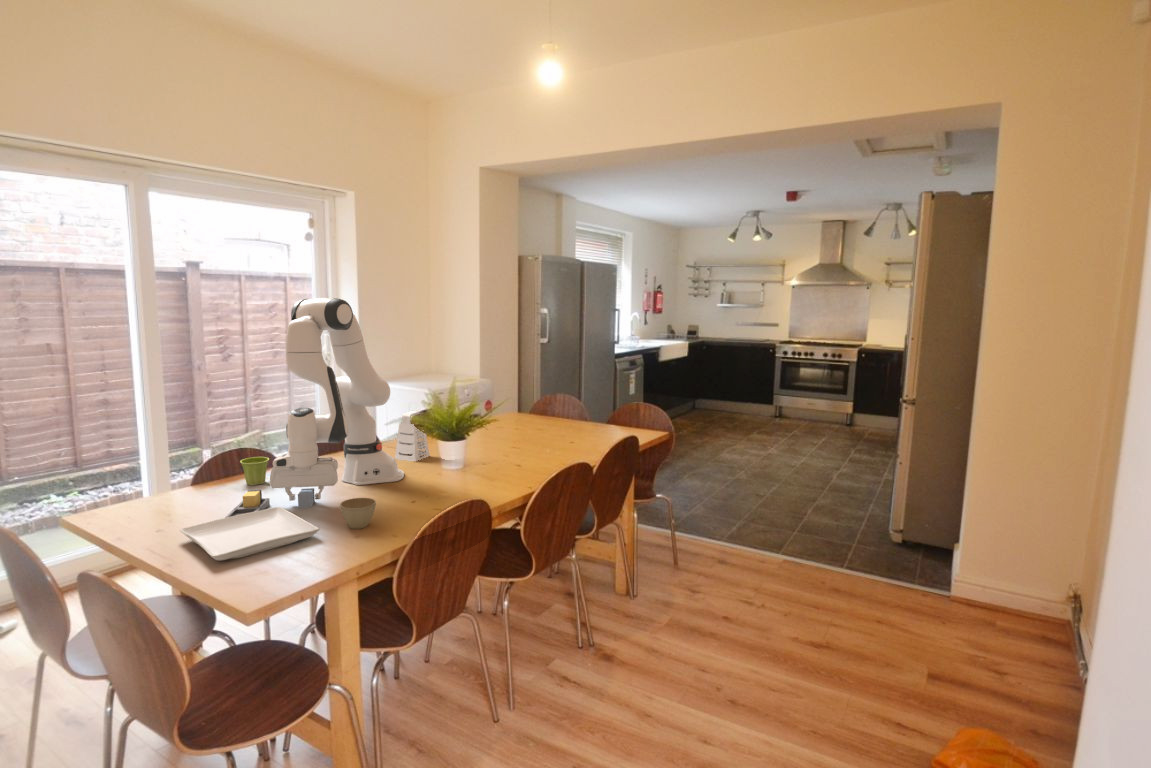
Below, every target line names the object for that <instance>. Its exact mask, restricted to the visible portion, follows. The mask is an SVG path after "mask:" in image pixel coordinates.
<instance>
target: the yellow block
mask: <svg viewBox="0 0 1151 768" xmlns="http://www.w3.org/2000/svg"><path fill="white" fill-rule="evenodd" d="M262 495H263V493H262V489H249V490H247V491H246V492H245V493H244V494H243V496H242V501H243V507H254V506H260V505H261V504H262V499H263V497H262Z"/></svg>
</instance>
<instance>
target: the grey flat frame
mask: <svg viewBox="0 0 1151 768" xmlns="http://www.w3.org/2000/svg"><path fill="white" fill-rule="evenodd" d="M269 506H270V498H269V497H268V498H267V497H265V498H263V497H262V504H261V505H260V506H254V507H243V500H241V501H240V502H239V504H237V505H236V506H235V507H234V508H233V509H232V510H231V511H230V512H229V513H227V515H226V516H225V517H224V518H227V517H231V516H236V515H240V514H245V513H250V512H255V511H260V510H265V509H268V508H269Z"/></svg>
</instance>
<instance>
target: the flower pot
mask: <svg viewBox="0 0 1151 768" xmlns="http://www.w3.org/2000/svg"><path fill="white" fill-rule="evenodd" d="M376 505H377V502H376V499H373V498H371V497H353V498H348V499H345V500H343V501H341V502H340V503H339V507H340V511H341V514H342V517H343V520H344V521H345V523H346V524H347V526H348V527H349V528H350V529H353V530H354V529H355V530H358V529H363V528H366V527H367V526H368V525H369V524H370V522H371V520H372V518H373V516H374V513H375V509H376Z"/></svg>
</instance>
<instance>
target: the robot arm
mask: <svg viewBox="0 0 1151 768" xmlns="http://www.w3.org/2000/svg"><path fill="white" fill-rule="evenodd" d="M290 316H291V318H290V319H291V321H290V322H289V324H288V325H287V330H286V336H285V337H286V338H285V359H286V360H285V361H286V365H287V368H288V370H289V371H290V372H291V373H292V374H293V375H295V376H296V377H298V378H300V379H303V380H305V381H308V382H312V383H314V384H316V385H319V386H320V387H321V388H322V389H324V392H325V394H326V398H327V403H328V408H329V409H328V410H329V413H327V414H321V413H320V414H316V413H315V411H314V409H312V408H309V407H299V408H298V407H296V408H294V409H292V410H290V411H289V412H288V418H287V423H286V426H285V427H286V430H285V431H286V432H285V433H286V438H287V439H288V443H289V444H288V448H287V451H288V452H287V453H285V454H282V455H278V456H277V457H275V458H274V460H273V461H272V466H273V467H272V468H271V470H270V475H269V486H270V487H271V488H272V489H284V491H285V493H286V495H288V497H289V498H288V499H289V501H295V500H296V493H293V492H292V488H314V487H317V488H318V489H317V490H318V491H319V492H316V493H314V497H315V501H316V500H321V499H322V492H323V490H324V488H325V487H334V486H335V485H336V484H337V483H338V481H339V478H338V477H339V476H338V471H337V470H338V468H339V465H338V461H337V459H335V458H333V457H319V447H318V444H319V443H321V444H322V443H324V444H325V443H328V444H339V443H341V442H342V441H343V440H344V443H343V456H344V467H343V473H342V477H341V481H342V482H344V483H349V484H353V485H356V486H362V485H371V484H372V485H373V484H381V483H392V482H394V483H395V482H399V481H401V480H402V479H403V478H404V477H405V472H404V471H403V469H399V467H398V463H397V460H395V457H393V456H392V455H390V454H388V453H386V451H384V450H383V444H382V441H379V440H377V432H376V431H377V429H376V428H377V427H376V426H377V423H376V419H375V418H374V417H373V416H372V415H371V414H370V413H369V412H368V410H367V408H366V407H369V408H372V407H373V408H374V407H381V406H384V405H386V403H388V401H389V399H390V396H391V387H390V385H389V383H388V382H387V381H386V380H384V379H383V378H382V377H381V376H380V375H379V374H378V372H377V371H376V369H375V368H374V366H373V365H372V363H371V362H370V359H369V355H368V352H367V349H366V345H365V341H364V336H363V333H362V329H361V327H360V325H359V324H360V323H359V322H358V320H357V317H356V315H355V314H354V312H353V308H352V307H351V305H350V304H349V302H347V300H344V299H341V298H338V297H334V298H330V297H316V298H303V299H300V300H298V301H296V302H295V303H294V304H293V306H292V308H291V313H290ZM324 331H327V332H328V335H329V340H330V345H331V349H332V352H333V357H334V360H335V364H336V366H337V367H338V368H339V369H340V370H341V371H343V372H344V373H345V374H346V375H340V376H336V374H335V371H334V369H333V368H332V367H331V366H329V365H328V364H327V363H326V362H325V359H324V356H323V346H322V339H321V337H322V334H323V332H324Z"/></svg>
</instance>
